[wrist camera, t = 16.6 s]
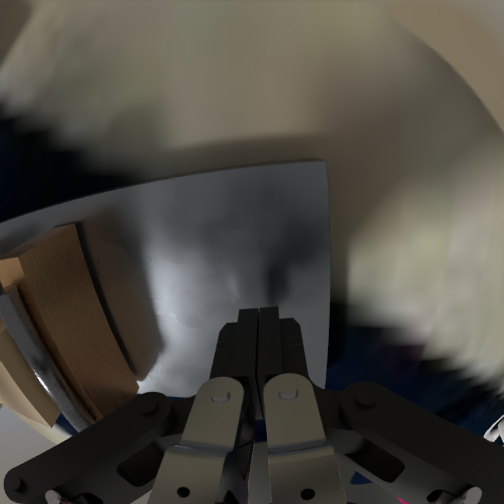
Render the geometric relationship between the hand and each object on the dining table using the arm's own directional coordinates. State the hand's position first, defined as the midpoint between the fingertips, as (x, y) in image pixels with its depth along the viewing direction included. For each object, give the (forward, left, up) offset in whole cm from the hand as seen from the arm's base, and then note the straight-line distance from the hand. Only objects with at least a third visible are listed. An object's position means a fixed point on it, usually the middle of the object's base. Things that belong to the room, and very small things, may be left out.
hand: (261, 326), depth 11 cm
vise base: (-7, 0, -3) cm, 8 cm away
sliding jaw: (-9, 0, -1) cm, 9 cm away
